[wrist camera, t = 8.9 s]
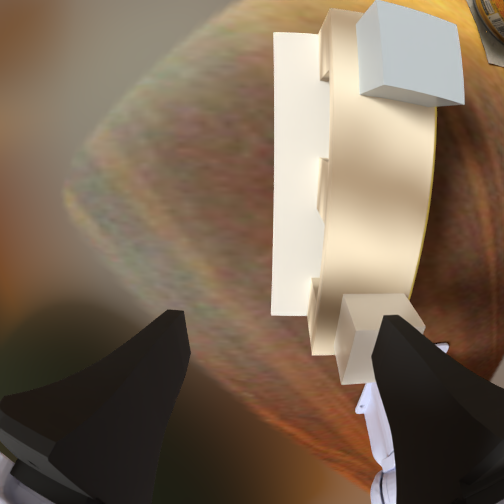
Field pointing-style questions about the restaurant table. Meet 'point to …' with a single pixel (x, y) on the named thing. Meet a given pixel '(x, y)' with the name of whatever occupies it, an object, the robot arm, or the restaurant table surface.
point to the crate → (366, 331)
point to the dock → (301, 170)
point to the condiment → (490, 27)
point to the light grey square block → (409, 56)
